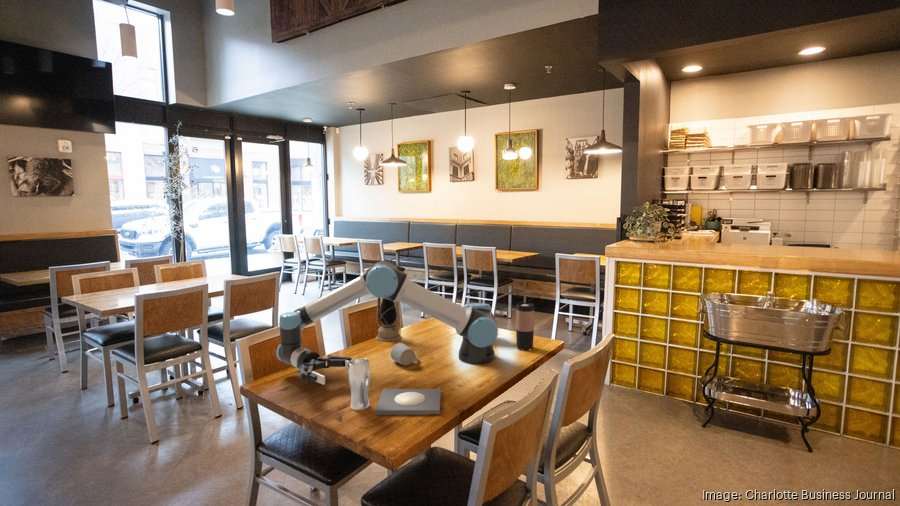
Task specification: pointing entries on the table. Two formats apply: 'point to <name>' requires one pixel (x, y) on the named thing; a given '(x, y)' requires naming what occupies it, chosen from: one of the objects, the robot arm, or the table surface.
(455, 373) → the table surface
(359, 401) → the beer glass
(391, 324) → the lantern
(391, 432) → the table surface
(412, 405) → the charcoal board
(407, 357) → the ceramic mug
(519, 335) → the travel mug
